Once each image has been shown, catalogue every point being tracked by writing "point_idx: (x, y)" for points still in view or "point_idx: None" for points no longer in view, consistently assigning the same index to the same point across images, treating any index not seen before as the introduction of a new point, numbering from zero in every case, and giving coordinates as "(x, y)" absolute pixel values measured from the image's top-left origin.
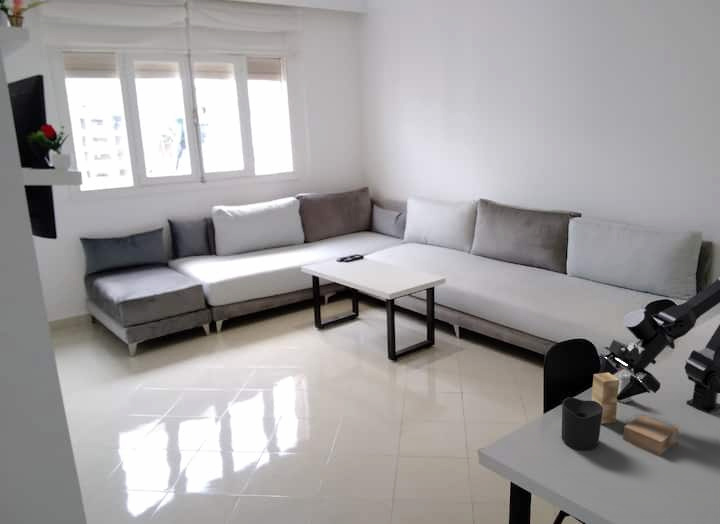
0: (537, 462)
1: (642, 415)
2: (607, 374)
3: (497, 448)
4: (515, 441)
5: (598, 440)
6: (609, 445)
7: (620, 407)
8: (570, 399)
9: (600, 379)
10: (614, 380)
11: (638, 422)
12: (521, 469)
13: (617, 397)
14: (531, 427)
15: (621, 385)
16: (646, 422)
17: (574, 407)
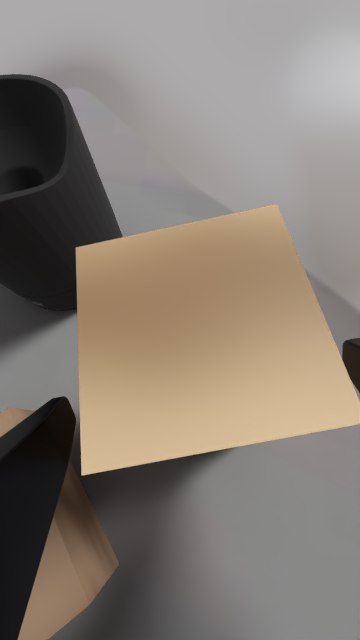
0: None
1: (80, 601)
2: (280, 368)
3: (86, 96)
4: (106, 126)
5: (21, 296)
6: (27, 344)
7: (336, 568)
8: (62, 114)
9: (142, 236)
10: (79, 386)
11: None
12: None
13: (48, 401)
14: (166, 163)
15: None
16: None
17: (59, 161)
